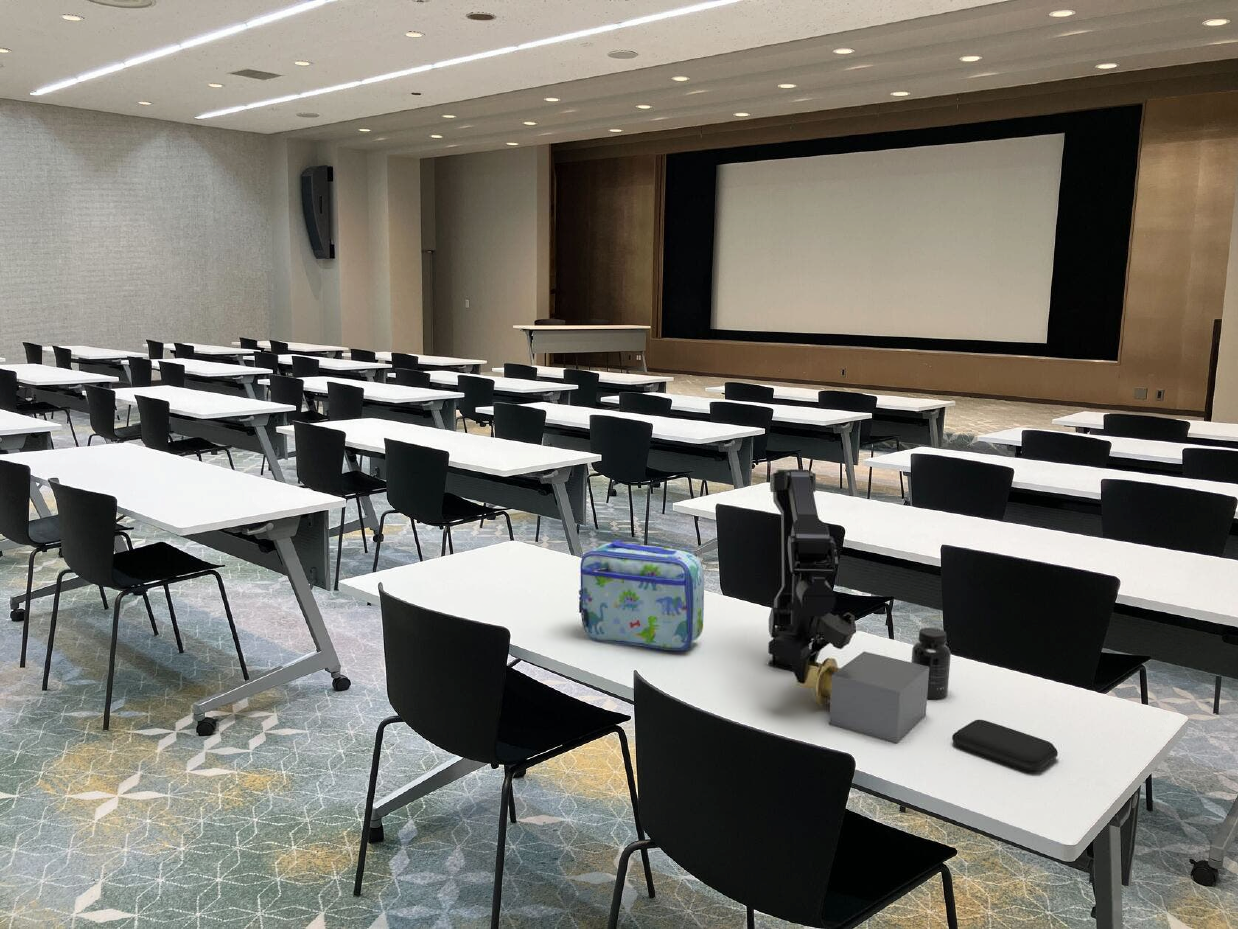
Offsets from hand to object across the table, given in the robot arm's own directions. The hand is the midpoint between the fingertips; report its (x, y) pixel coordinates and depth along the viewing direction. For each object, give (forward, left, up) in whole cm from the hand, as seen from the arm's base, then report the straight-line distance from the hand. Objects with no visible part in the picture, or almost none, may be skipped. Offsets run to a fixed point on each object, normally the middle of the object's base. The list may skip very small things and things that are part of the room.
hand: (804, 681), depth 179 cm
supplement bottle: (+17, +17, -4) cm, 24 cm away
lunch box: (-41, +6, -4) cm, 41 cm away
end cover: (+4, 0, -3) cm, 5 cm away
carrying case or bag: (+35, +2, -4) cm, 35 cm away
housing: (+14, 0, -4) cm, 15 cm away
